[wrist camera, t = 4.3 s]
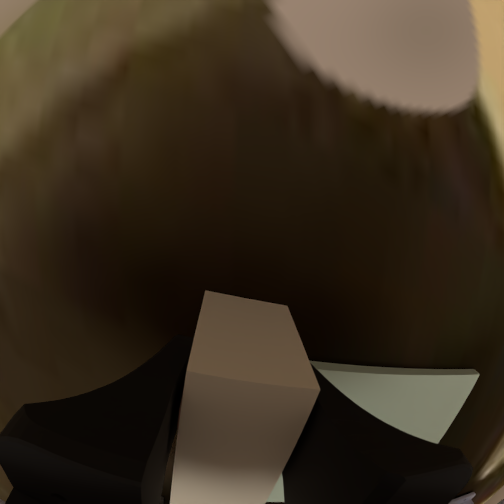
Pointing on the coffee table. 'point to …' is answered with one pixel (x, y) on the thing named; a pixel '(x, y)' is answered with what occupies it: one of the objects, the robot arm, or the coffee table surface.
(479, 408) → the coffee table surface
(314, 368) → the robot arm
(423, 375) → the pad
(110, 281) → the coffee table surface
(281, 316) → the beige rectangular block
